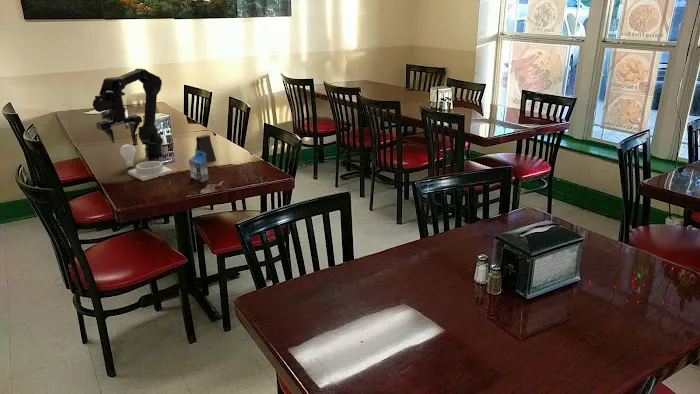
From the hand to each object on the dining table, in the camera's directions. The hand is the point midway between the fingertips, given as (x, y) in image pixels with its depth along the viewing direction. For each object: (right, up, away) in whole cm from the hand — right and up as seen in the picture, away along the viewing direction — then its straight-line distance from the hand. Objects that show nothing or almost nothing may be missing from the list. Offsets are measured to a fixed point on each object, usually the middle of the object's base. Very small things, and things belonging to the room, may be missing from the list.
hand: (123, 140), depth 234 cm
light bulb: (+1, -12, +5) cm, 13 cm away
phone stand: (+33, -8, +15) cm, 38 cm away
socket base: (+14, -15, -3) cm, 21 cm away
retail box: (+38, -18, -10) cm, 43 cm away
